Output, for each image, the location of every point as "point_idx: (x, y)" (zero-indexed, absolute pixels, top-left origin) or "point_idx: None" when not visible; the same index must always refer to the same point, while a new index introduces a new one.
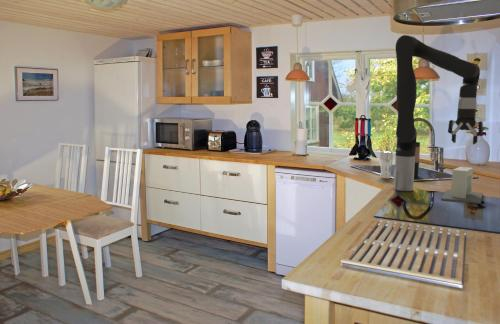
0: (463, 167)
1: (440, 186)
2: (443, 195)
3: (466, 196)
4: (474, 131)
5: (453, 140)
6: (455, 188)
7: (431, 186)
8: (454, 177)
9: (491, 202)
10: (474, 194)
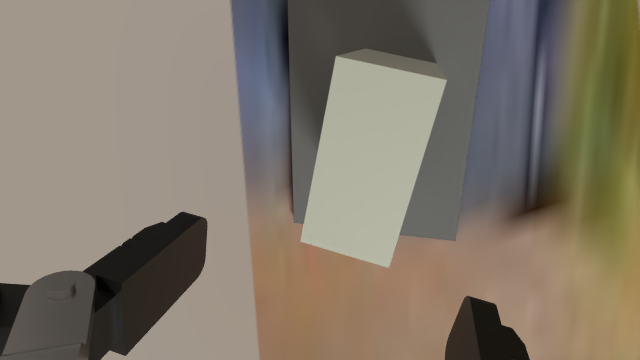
0: (363, 241)
1: None
2: (476, 75)
3: None
4: (17, 345)
5: (491, 322)
6: (414, 61)
7: (525, 330)
8: (425, 70)
9: (250, 57)
10: None
